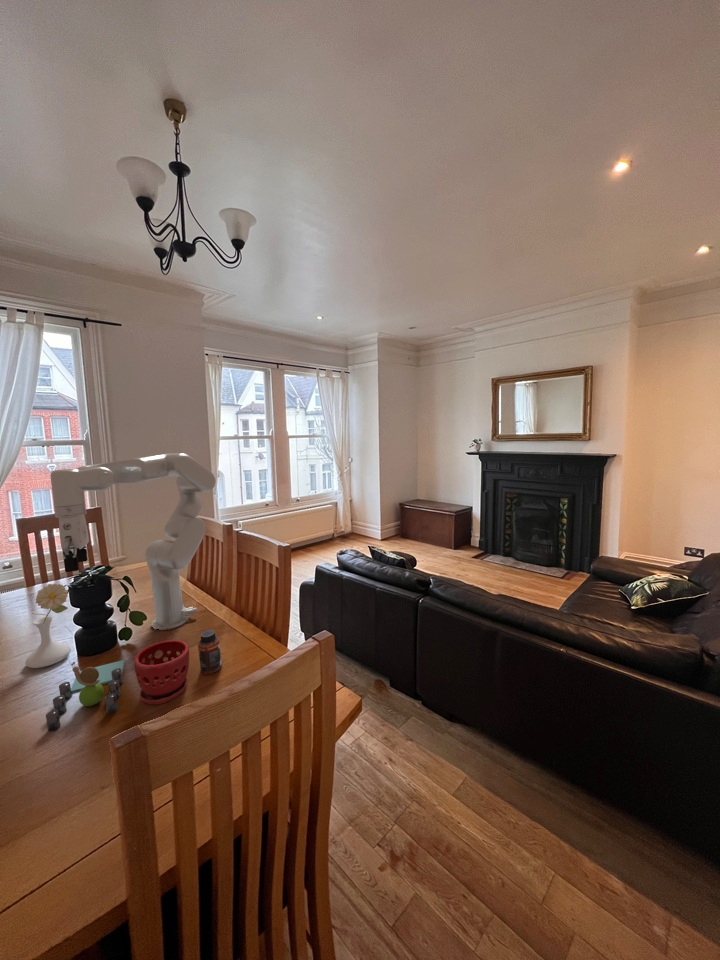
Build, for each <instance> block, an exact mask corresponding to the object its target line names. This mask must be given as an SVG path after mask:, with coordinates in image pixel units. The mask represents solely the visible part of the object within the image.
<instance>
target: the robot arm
mask: <svg viewBox="0 0 720 960" xmlns="http://www.w3.org/2000/svg"><path fill="white" fill-rule="evenodd" d="M169 477H176V481H175V482H176V486H177V489H178V491H179V492H178V494H179V500H178V503H177V505H176V506H175V508H174V510H173V511H172V513H171V515H170V516H169V518H168V520H167V521H166V523H165V525H164V529H163V531H164V532H163V533H164V534H165V536H166V537H167V538H170V539H172V540H167V539H157V540H154V541H152V542H151V543H149V544H148V546H147V547H146V550H145V552H144V553H145V554H144V556H145V557H144V558H145V561H146V565H147V568H148V571H149V575H150V583H151V590H152V600H153V605H154V606H153V608H154V614H155V615H154V616H155V619H153V620H152V621H151V623H150V624H151V628H152V627H153V628H154V630H156V629H159V630H158V631H165V630H166V631H167V629H168V630H172V629H175V628H178V627H180V626H182V625H184V624H185V623H187V622H188V620H189V618H190V616H189V615H191V614H197V613H198V611H197V610H198V609H197V607H194V606H189V607H185V604H184V602H183V594H182V593H183V592H182V585H181V575H180V571H179V570H181V569H185V568H186V567H187V566H188V565H189V564H190V563H191V561H192V560H193V558H194V557H195V554H196V552H197V550H198V548H199V547H200V545H201V543H202V541H203V539H204V537H205V534H206V531H207V530H206V523H205V521H204V520H203V519H202V518H201V517H200V516H199V514H200V511H201V509H202V497H201V493H209V492H210V491H212V490H213V489H214V488H215V486H216V477H215V475H214V473H213V472H212V471H211V470H210V469H208V468H207V467H205V465H204V464H202V463H200V462H199V461H197V460H196V459H195V458H193V457H192V456H190V455H188V454H187V453H182V452H181V453H177V452H176V453H163V454H155V455H149V456H143V457H142V456H141V457H135V458H130V459H122V460H118V461H111V462H102V463H96V464H89V465H88V464H87V465H83V466H80V467H76V468H67V469H66V468H64V469H63V468H62V469H55V470H53V471H51V472H50V484H51V490H52V491H51V492H52V493H51V494H52V499H53V510H54V517H55V518H56V519H58V528H59V540H60V542H59V543H60V547H61V550H62V551H63V552H62V555H63V563H64V564H63V565H64V571H65V572H66V573H71V572H78V571H79V570H80V568H79V567H80V565H79V563H83V562H84V563H85V562H87V561H88V559H89V558H88V552H87V545H88V543H89V542H90V536H89V531H88V525H87V520H86V515H87V507H86V506H87V505H86V496H85V492H91V491H93V492H101V491H105V490H107V489H110V488H111V487H113V486H114V485H115V484H116V485H117V484H139V483H146V482H150V481H155V480H160V479H164V478H169ZM174 540H175V541H174ZM193 607H194V608H193ZM153 628H152V629H153Z"/></svg>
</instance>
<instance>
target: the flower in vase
mask: <svg viewBox="0 0 720 960" xmlns="http://www.w3.org/2000/svg"><path fill="white" fill-rule="evenodd" d="M42 587H43V588H41V589H39V590H38V591H37V594H36V598H35V604H37V605H38V607H40V609H46V610H48V612H47V614H45V613H34V612H31V614H33V615H39V616H44V617H40V618H38V619H35V620H34V621H32V624H33V625H35V627H36V628H37V629H38V631H39V634H40V639H41V640H40V644H39V645H38V646H37V648H35V649H34V650H33V651H32V652H31V653H30V654H29V655H28V657H27V658H26V659H25V662H24V663H25V666H26V667H28V668H30V669H39V668H45V667H48V666H51V665H55V664H56V663H59V662H60V661H62V660H63V659H65V658H67V656H69V655H70V653H71V650H72V648H71V647H70V645H68V644H66V643H64V642H60V641H56V640H53V639H52V637H51V632H50V630H51V629H50V627H51V623H52V621H53V619H54V617H53V616H49V614H50V613H51V612H54V613H56V614H60V613H62V612H64V611H66V610H68V609H69V608H68V607H67V606H65V605H63V604H64V603H66V602H67V598H68V595H69V590H68V589H66V588H67V587H66V586H64V585H63V584H61V583H48V584H47V585H46V586H42Z"/></svg>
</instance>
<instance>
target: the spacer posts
mask: <svg viewBox="0 0 720 960" xmlns="http://www.w3.org/2000/svg"><path fill="white" fill-rule="evenodd" d="M111 674H112V682H110V683H107V684H108V685H107V686H108V687H107V688H108V692H109V693H108V694H107V695H106V696H105V697H104V701H105V709H106V715H111V714H114V713H116V712H117V711H118V710H119V707H118V698H120V697H121V695H122V694H121V688H120V686H121V685H123V684H124V679H123V672H122V671H121V669H120V668H118V669H115V670H113V671H112V672H111ZM71 688H72V686H71V683H70V681H64V682H62V683H61V684H60V685H58V692H59V695H57V696H55V697H54V698H53V699H52V705H53V709H52V710H50V711H48V712H47V713H46V714H45V718H46V725H47V731H48V733H53V732H56V731H58V730H59V729H60V728H61V725H62V724H61V720H60V719H61V718H60V716H63V715H64V714H66V712H67V703H66V702H68V701H69V700H71V698H72V697H73V693H71Z"/></svg>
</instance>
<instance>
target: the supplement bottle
mask: <svg viewBox="0 0 720 960" xmlns="http://www.w3.org/2000/svg"><path fill="white" fill-rule="evenodd" d="M220 644H221V643H220V638H219V637H218V636H216V632H215V630H213V629H209V630H208V629H207V630H205V631H203V632H202V633H200V640H199V641H198V644H197V648H198V649H197V650H198V657H199V667H200V671H201V673H202V674H203V675H206V674H207V675H210V674H214V673H216V672H218V671H220V670H221V668H222V665H223V664H222V653H221V645H220Z"/></svg>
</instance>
